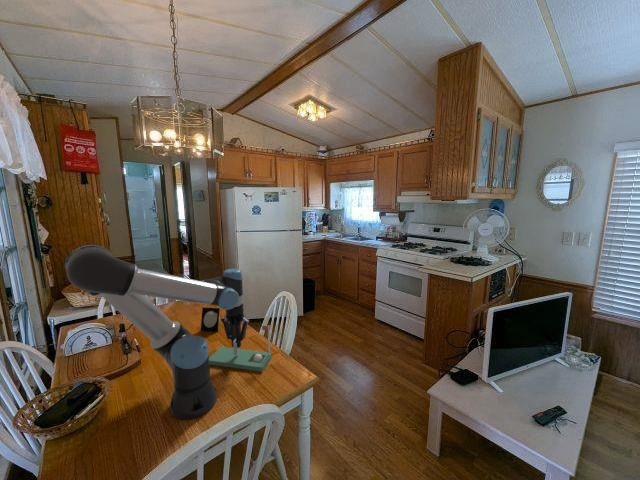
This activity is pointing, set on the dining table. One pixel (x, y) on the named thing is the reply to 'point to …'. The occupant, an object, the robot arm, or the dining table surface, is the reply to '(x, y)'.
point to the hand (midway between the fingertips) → (236, 353)
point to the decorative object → (210, 319)
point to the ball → (257, 358)
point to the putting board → (241, 357)
